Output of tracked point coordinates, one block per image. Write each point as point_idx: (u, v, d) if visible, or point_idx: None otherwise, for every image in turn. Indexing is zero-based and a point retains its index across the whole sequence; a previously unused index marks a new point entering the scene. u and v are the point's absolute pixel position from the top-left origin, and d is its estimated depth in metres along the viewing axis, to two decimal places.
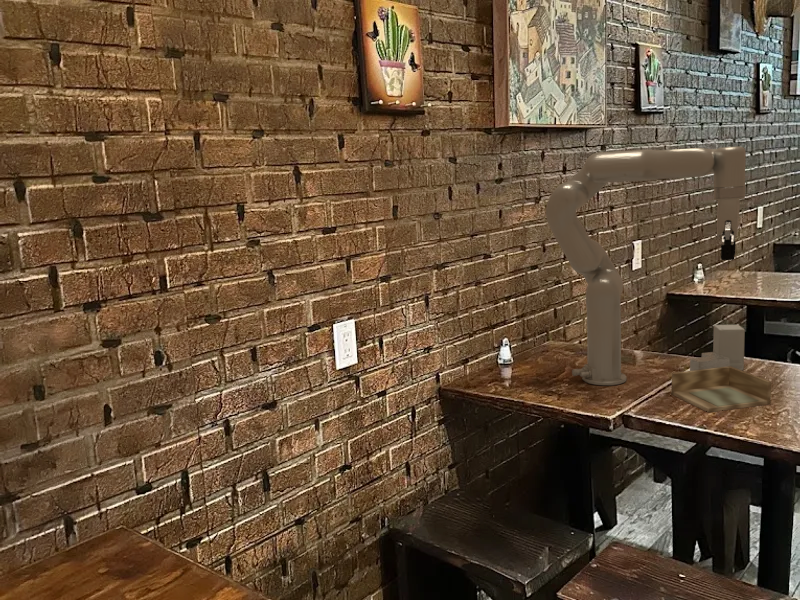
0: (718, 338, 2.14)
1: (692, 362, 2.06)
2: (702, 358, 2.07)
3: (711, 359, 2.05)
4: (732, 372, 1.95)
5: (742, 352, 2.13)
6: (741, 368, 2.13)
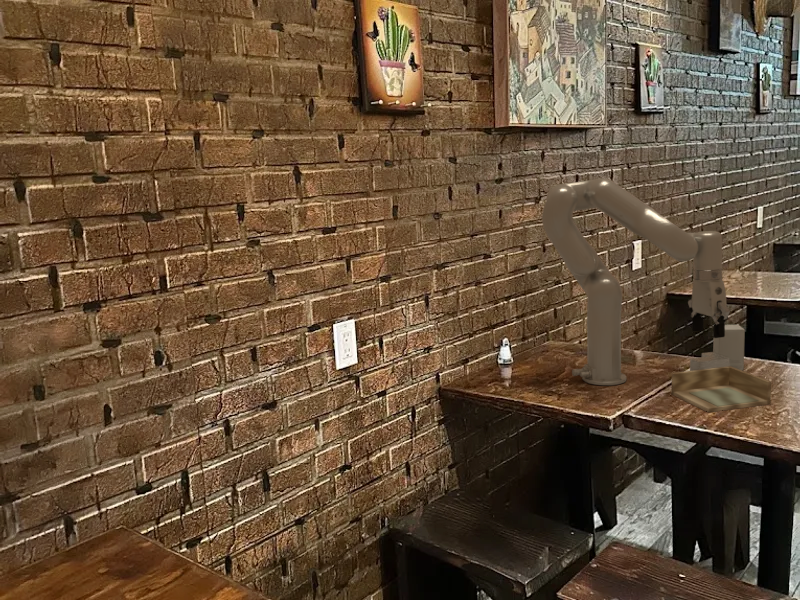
0: (718, 338, 2.14)
1: (692, 362, 2.06)
2: (702, 358, 2.07)
3: (711, 359, 2.05)
4: (732, 372, 1.95)
5: (742, 352, 2.13)
6: (741, 368, 2.13)
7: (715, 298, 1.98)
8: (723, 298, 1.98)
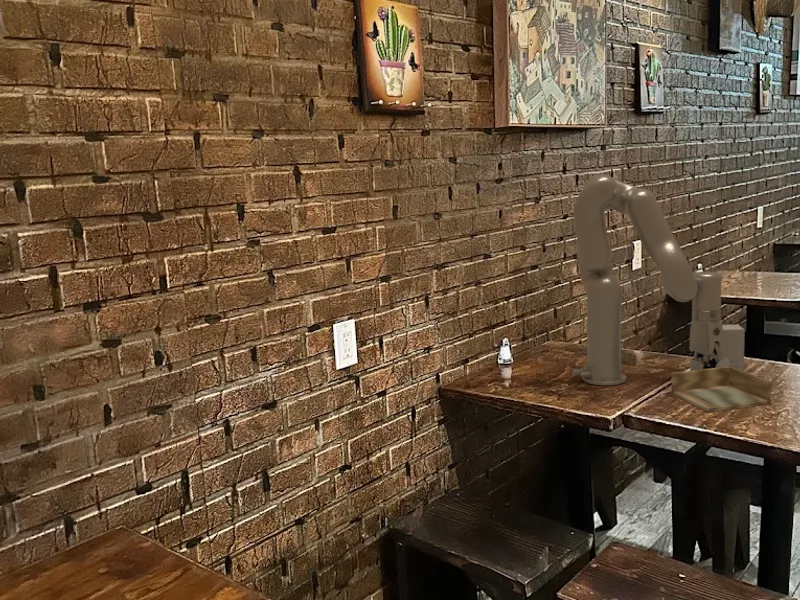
0: None
1: (692, 362, 2.06)
2: (702, 358, 2.07)
3: None
4: (732, 372, 1.95)
5: (742, 352, 2.13)
6: (740, 368, 2.13)
7: (713, 339, 2.00)
8: (721, 339, 2.00)
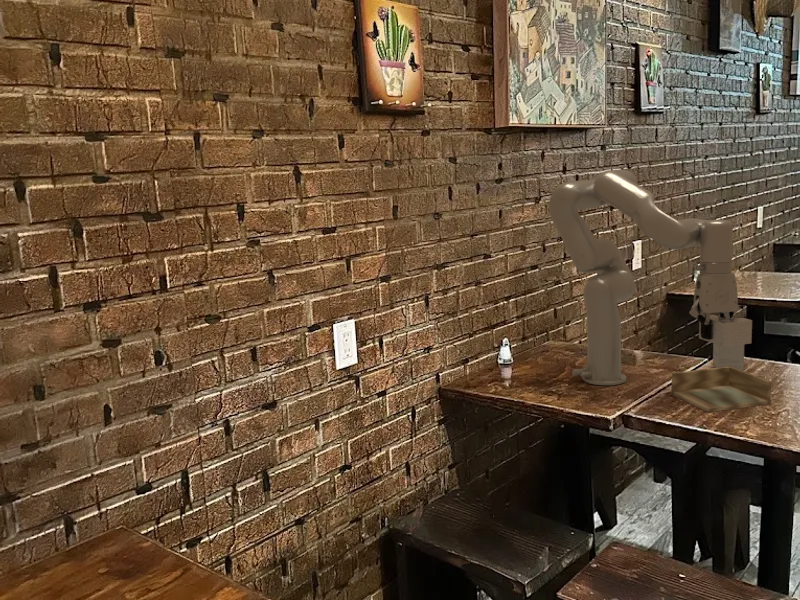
0: None
1: None
2: (716, 317, 1.85)
3: (714, 319, 1.84)
4: (732, 372, 1.95)
5: (742, 352, 2.13)
6: (740, 368, 2.13)
7: (695, 291, 1.84)
8: (701, 294, 1.82)
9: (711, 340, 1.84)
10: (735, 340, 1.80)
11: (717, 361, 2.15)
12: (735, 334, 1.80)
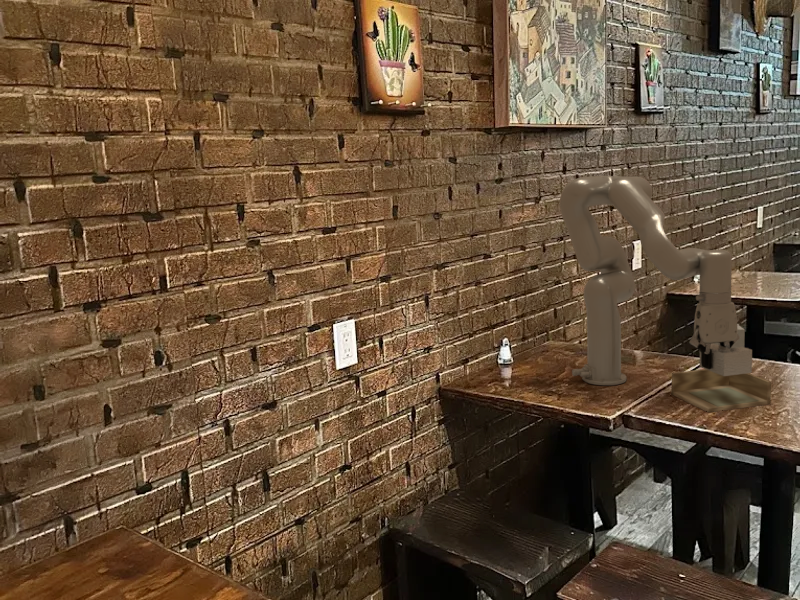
0: None
1: None
2: (717, 346, 1.87)
3: (714, 348, 1.85)
4: None
5: None
6: None
7: (695, 321, 1.85)
8: (701, 324, 1.83)
9: (712, 369, 1.85)
10: (735, 370, 1.81)
11: None
12: (735, 364, 1.81)
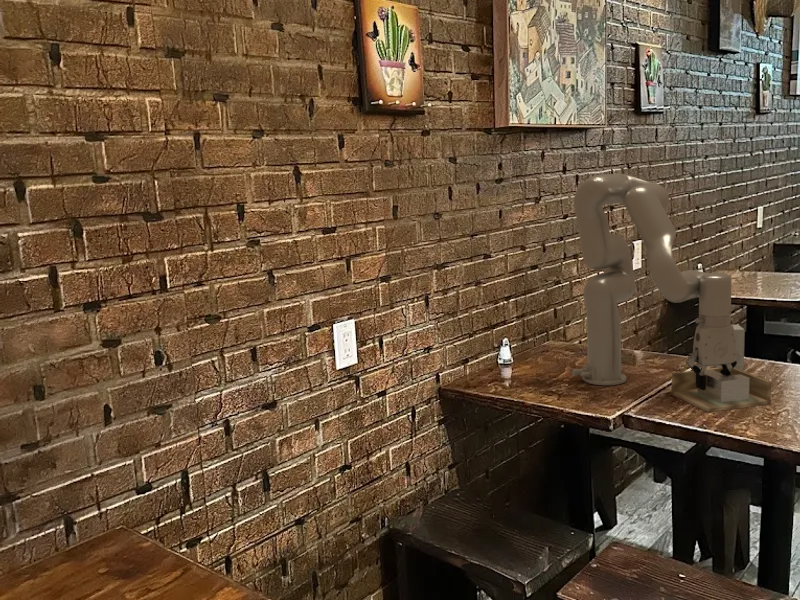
0: None
1: None
2: (714, 373, 1.88)
3: (712, 375, 1.86)
4: (732, 372, 1.95)
5: (742, 352, 2.13)
6: (740, 368, 2.13)
7: (694, 343, 1.86)
8: (700, 346, 1.84)
9: (709, 396, 1.87)
10: (732, 397, 1.83)
11: None
12: (732, 391, 1.82)
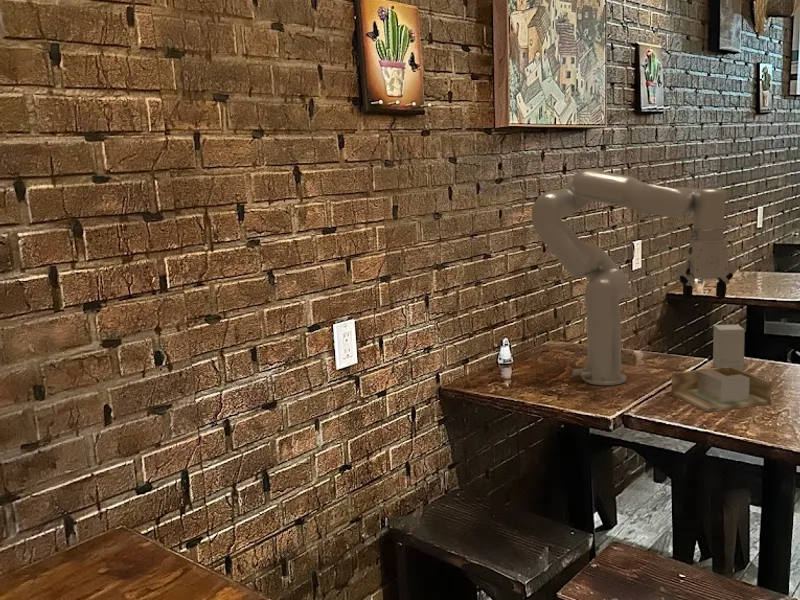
0: (718, 338, 2.14)
1: None
2: (714, 373, 1.88)
3: (712, 375, 1.86)
4: (732, 372, 1.95)
5: (742, 352, 2.13)
6: (740, 368, 2.13)
7: (687, 257, 1.91)
8: (692, 259, 1.88)
9: (709, 396, 1.87)
10: (732, 397, 1.83)
11: (717, 361, 2.15)
12: (732, 391, 1.82)
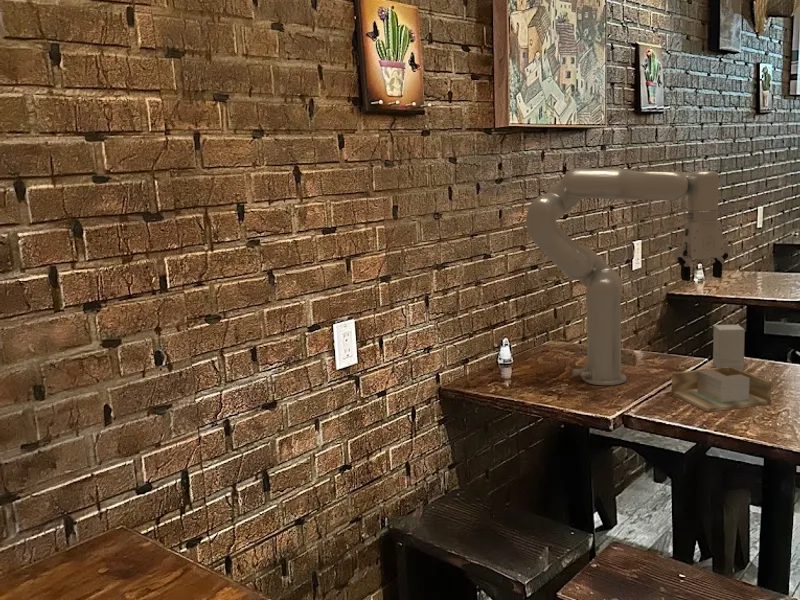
0: (718, 338, 2.14)
1: None
2: (714, 373, 1.88)
3: (712, 375, 1.86)
4: (732, 372, 1.95)
5: (742, 352, 2.13)
6: (740, 368, 2.13)
7: (683, 239, 1.95)
8: (689, 241, 1.93)
9: (709, 396, 1.87)
10: (732, 397, 1.83)
11: (717, 361, 2.15)
12: (732, 391, 1.82)
